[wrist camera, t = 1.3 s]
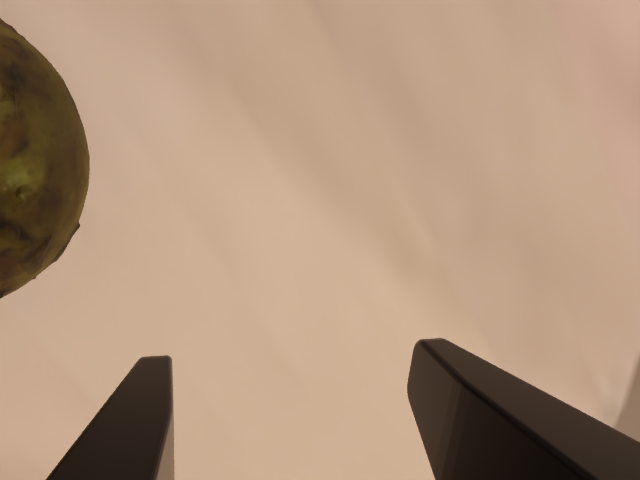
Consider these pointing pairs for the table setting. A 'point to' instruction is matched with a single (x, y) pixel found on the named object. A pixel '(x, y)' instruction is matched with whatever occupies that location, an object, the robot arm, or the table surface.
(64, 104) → the potato
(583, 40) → the table surface
